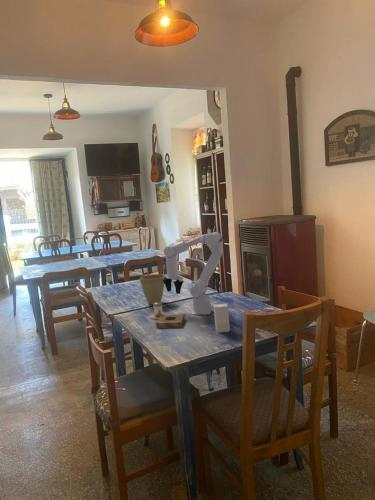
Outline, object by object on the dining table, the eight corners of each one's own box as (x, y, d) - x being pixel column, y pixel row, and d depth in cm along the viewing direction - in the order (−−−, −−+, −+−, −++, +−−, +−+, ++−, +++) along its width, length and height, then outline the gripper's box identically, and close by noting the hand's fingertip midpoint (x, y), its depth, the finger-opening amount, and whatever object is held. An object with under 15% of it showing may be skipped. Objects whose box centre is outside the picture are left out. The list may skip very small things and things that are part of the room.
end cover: (164, 314, 201) (163, 301, 200) (162, 317, 196) (161, 304, 195) (154, 314, 201) (153, 301, 200) (152, 317, 196) (151, 304, 195)
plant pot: (171, 302, 224) (169, 276, 222) (148, 307, 217) (145, 280, 215) (160, 297, 237) (158, 272, 235) (138, 302, 230) (135, 276, 228)
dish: (168, 313, 203) (167, 312, 203) (164, 319, 194) (164, 318, 194) (151, 314, 204) (151, 313, 204) (147, 319, 196) (147, 318, 195)
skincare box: (228, 328, 174) (226, 303, 172) (230, 332, 170) (228, 305, 168) (215, 330, 174) (213, 304, 172) (216, 333, 169) (215, 307, 168)
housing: (184, 319, 192) (184, 314, 192) (181, 327, 180) (180, 322, 180) (161, 319, 194) (161, 315, 194) (156, 327, 182) (156, 322, 182)
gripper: (157, 267, 206) (159, 292, 208) (175, 270, 196) (176, 296, 198) (168, 265, 211) (169, 289, 213) (185, 268, 200) (186, 293, 202)
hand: (173, 292), depth 206 cm, fingers open, 7 cm apart
